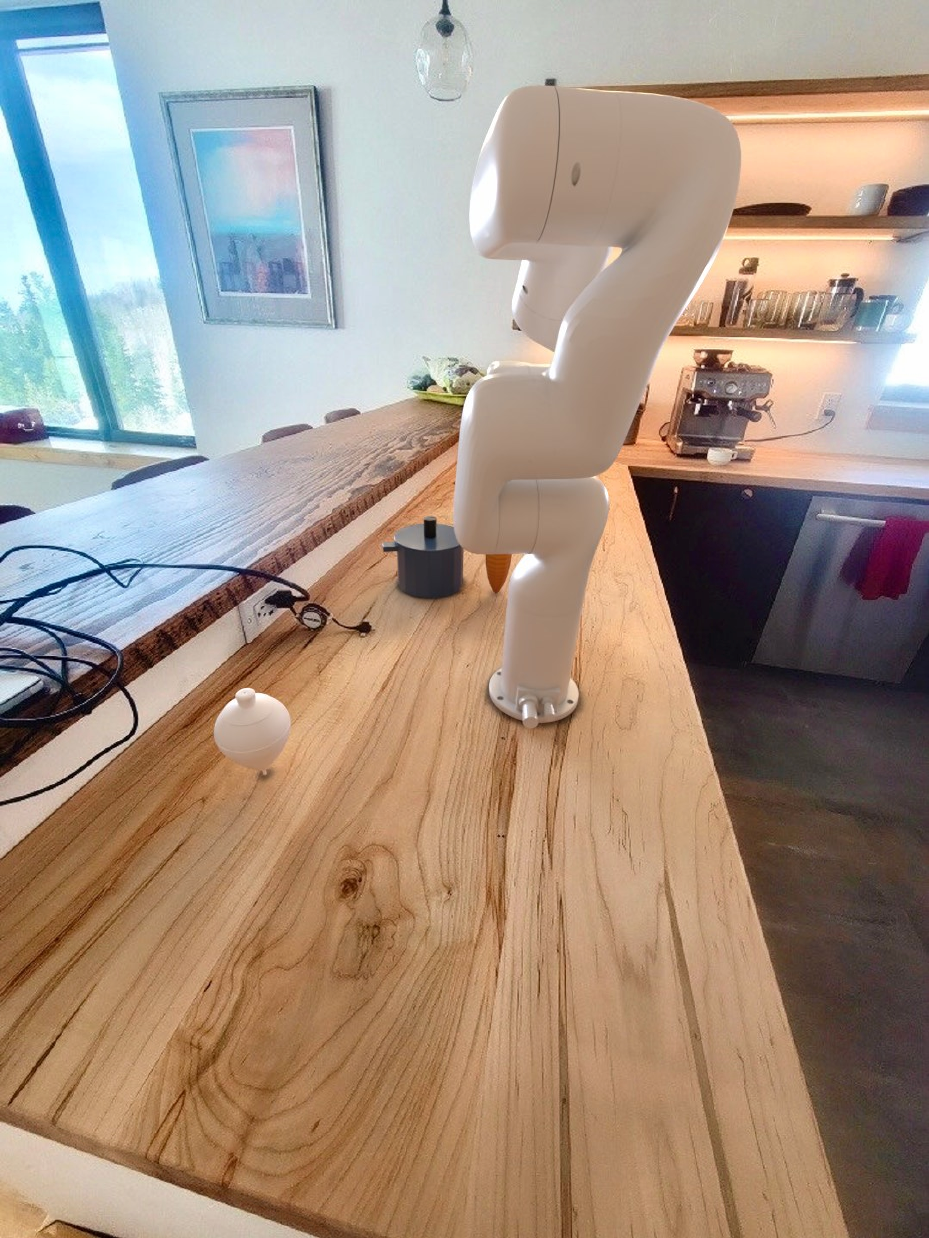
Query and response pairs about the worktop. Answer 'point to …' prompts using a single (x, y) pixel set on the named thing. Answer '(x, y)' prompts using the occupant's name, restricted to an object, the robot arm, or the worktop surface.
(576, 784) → the worktop surface
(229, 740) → the spinning top
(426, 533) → the pot lid
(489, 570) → the carrot
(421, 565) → the pot
